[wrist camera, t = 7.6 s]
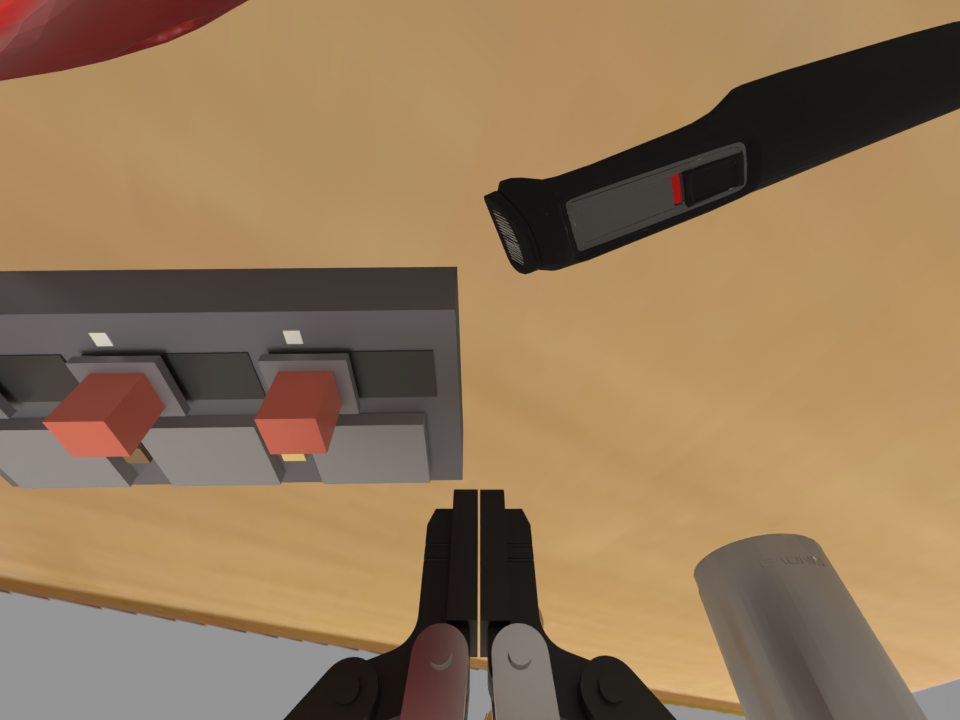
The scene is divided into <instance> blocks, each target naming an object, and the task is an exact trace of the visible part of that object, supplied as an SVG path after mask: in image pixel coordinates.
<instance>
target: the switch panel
mask: <svg viewBox="0 0 960 720" xmlns="http://www.w3.org/2000/svg"><path fill="white" fill-rule="evenodd" d="M333 353H348V354H349V358H350V362H351V367H352V371H353V375H354V379H355V383H356V388H357V392H358V396H359V400H360V404H361V409H360V413H359V414H339V416H338V419H337V423H336V426H335V429H334V433H333V436H332V439H331V442H330V446H329V449H328V452H327V454H270V453H269V450H268V448H267V446H266V444H265V442H264V440H263V437H262V435H261V433H260V431H259V429H258V426H257V424H256V422H255V420H254V419H255V417H256V415H257V413H258V411H259V409H260V407H261V405H262V403H263V401H264V399H265V397H266V395H267V393H268V391H269V389H268V386H267V384H266V381H265V379H264V376H263V374H262V371H261V369H260V366H259V364H258V359H259V358H260V356H261V354H333ZM75 356H161V358H162V360H163V361H164V363H165V365H166V367H167V368H168V370H169V372H170V374H171V375H172V377H173V379H174V381H175V382H176V384H177V386H178V387H179V389H180V391H181V393H182V394H183V396H184V398H185V400H186V401H187V403H188V405H189V407H190V408H191V410H190V411H189V413H188V414H187V416H164V417H158V419H157V420H156V422H155V423H154V424H153V426H152V427H151V429H150V430H149V431H148V433H147V434H146V436H145V437H144V438H143V440H142V441H141V443H140V444H139V445H138V447H137V448H136V449H135V451H134V452H133V454H132V455H131V456H122V457H73V456H72V455H71V454H70V453H69V452H68V451H67V450H66V449H65V447H64V446H63V445H62V444H61V443H60V442H59V441H58V440H57V438H56V437H55V436H54V435H53V434H52V433H51V432H50V431H49V429H48V428H47V427H46V426H45V425H44V424H43V423H42V422H43V421H44V420H45V419H46V418H47V416H48V415H49V414H50V413H51V412H52V411H53V410H54V409H55V408H56V407H57V406H58V405H59V404H60V403H61V402H62V401H63V400H64V399H65V398H66V397H67V396H68V395H69V394H70V393H71V392H72V391H73V390H74V389H75V388H76V387H77V386H78V385H79V384H80V383H79V382H78V380H77V379H76V378H75V376H74V375H73V374H72V372H71V371H70V370H69V368H68V367H67V366H66V364H65V363H66V362H67V361H68V360H69V359H70V358H71V357H75ZM0 393H1V394H2V396H3V397H4V398H5V399H6V400H7V401H8V402H9V403H10V404H11V405H12V406H13V407H14V409H15V410H16V411H17V412H16V413H15V414H14V415H13V416H11V417H10V418H9V419H0V476H2V477H3V478H4V479H5V480H6V481H7V482H8V483H9V484H10V485H11V486H13V487H21V488H22V489H35V488H102V487H131V485H156V484H172V485H173V486H238V485H281V483H292V482H323V484H373V483H430V480H463V407H462V381H461V354H460V328H459V301H458V274H457V267H367V268H263V269H159V270H55V271H0Z"/></svg>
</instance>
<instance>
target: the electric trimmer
mask: <svg viewBox="0 0 960 720" xmlns="http://www.w3.org/2000/svg"><path fill="white" fill-rule="evenodd" d="M958 109H960V21H956V22H952V23H948V24H944V25H940V26H936V27H933V28H929V29H925V30H921V31H918V32H914V33H910V34H907V35H903V36H900V37H896V38H893V39H890V40H886V41H883V42H879V43H876V44H873V45H869V46H866V47H862V48H859V49H856V50H852V51H849V52H845V53H842V54H839V55H835V56H832V57H828V58H825V59H822V60H818V61H815V62H811V63H808V64H805V65H801V66H798V67H794V68H791V69H788V70H784V71H781V72H778V73H775V74H772V75H769V76H766V77H763V78H760V79H757V80H754V81H751V82H748V83H745V84H742V85H740V86H738V87H736V88H734V89H732V90H731V91H730V92H729V93H728V94H727V95H726V96H725V97H724V98H723V99H722V100H721V101H720V102H719V103H718V105H717V106H716V107H714V108H713V109H712V110H711V111H710V112H709V113H707V114H706V115H704V116H702V117H701V118H699V119H698V120H696V121H694V122H693V123H691V124H688V125H686V126H684V127H682V128H679V129H677V130H675V131H672V132H670V133H667V134H665V135H662V136H660V137H657V138H655V139H652V140H650V141H647V142H645V143H642V144H640V145H637V146H635V147H632V148H630V149H627V150H625V151H622V152H620V153H618V154H615V155H613V156H610V157H608V158H605V159H603V160H600V161H598V162H595V163H593V164H590V165H587V166H584V167H581V168H578V169H576V170H573V171H570V172H567V173H564V174H561V175H558V176H555V177H551V178H546V179H533V178H522V177H520V178H509V179H505V180H502V181H500V182H499V186H498V190H497V191H494V192H492V193H489V194H487V195H485V196H484V201H485V203H486V206H487V208H488V211H489V213H490V215H491V218H492V220H493V223H494V225H495V228H496V230H497V233H498V235H499V238H500V240H501V243H502V245H503V248H504V250H505V253H506V255H507V258H508V260H509V262H510V264H511V265H512V266H513V268H514V269H515V270H516V271H518V272H519V273H522V274H529V273H532V272H534V271H537V270H546V271H556V270H560V269H563V268H566V267H569V266H572V265H575V264H578V263H581V262H585V261H588V260H591V259H593V258H596V257H598V256H601V255H603V254H606V253H608V252H611V251H613V250H616V249H618V248H621V247H623V246H626V245H628V244H631V243H633V242H636V241H638V240H641V239H643V238H646V237H648V236H651V235H653V234H656V233H658V232H661V231H663V230H666V229H668V228H671V227H673V226H676V225H678V224H681V223H683V222H686V221H688V220H691V219H693V218H696V217H698V216H701V215H703V214H706V213H708V212H710V211H713V210H715V209H717V208H719V207H722V206H724V205H726V204H728V203H731V202H733V201H735V200H737V199H740V198H742V197H744V196H746V195H748V194H750V193H752V192H755V191H757V190H760V189H763V188H765V187H768V186H770V185H772V184H775V183H777V182H780V181H782V180H785V179H787V178H790V177H792V176H794V175H797V174H799V173H802V172H804V171H807V170H809V169H812V168H814V167H816V166H819V165H821V164H824V163H826V162H829V161H831V160H834V159H836V158H838V157H841V156H843V155H846V154H848V153H851V152H853V151H856V150H858V149H861V148H863V147H866V146H868V145H871V144H873V143H876V142H878V141H881V140H883V139H886V138H888V137H890V136H893V135H895V134H898V133H900V132H903V131H905V130H908V129H910V128H913V127H915V126H918V125H920V124H923V123H925V122H928V121H930V120H933V119H935V118H938V117H940V116H943V115H945V114H948V113H950V112H953V111H955V110H958ZM743 144H744V145H743Z"/></svg>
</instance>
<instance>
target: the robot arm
mask: <svg viewBox="0 0 960 720" xmlns="http://www.w3.org/2000/svg"><path fill="white" fill-rule="evenodd" d="M694 578H695V581H696V584H697V586H698V589H699V591H698V592H699V595H700V597H701V600H702V603H703V605H704V608H705V611H706V613H707V616H708V619H709V621H710V624H711V627H712V629H713V632H714V635H715V637H716V640H717V643H718V646H719V648H720V651H721V654H722V656H723V659H724V662H725V664H726V667H727V670H728V672H729V675H730V678H731V680H732V683H733V686H734V688H735V691H736V694H737V696H738V699H739V702H740V704H741V707H742V710H743V712H744V715H745V718H746V720H928V719H927V717H926V715H925V714H924V712H923V711H922V709H921V707H920V706H919V704H918V703H917V701H916V699H915V698H914V696H913V695H912V693H911V691H910V690H909V688H908V687H907V685H906V683H905V682H904V680H903V678H902V677H901V675H900V674H899V672H898V670H897V669H896V667H895V666H894V664H893V662H892V661H891V659H890V658H889V656H888V654H887V653H886V651H885V649H884V648H883V646H882V645H881V643H880V641H879V640H878V638H877V637H876V635H875V633H874V632H873V630H872V629H871V627H870V625H869V624H868V622H867V621H866V619H865V617H864V616H863V614H862V612H861V611H860V609H859V608H858V606H857V604H856V603H855V601H854V599H853V598H852V596H851V595H850V593H849V591H848V590H847V588H846V587H845V585H844V583H843V582H842V580H841V579H840V577H839V575H838V574H837V572H836V571H835V569H834V567H833V566H832V564H831V562H830V561H829V559H828V558H827V556H826V554H825V553H824V551H823V550H822V548H821V546H820V545H819V544H818V543H817V542H816V541H815V540H813V539H811V538H809V537H806V536H802V535H797V534H785V533H778V534H765V535H760V536H754V537H749V538H745V539H742V540H738V541H735V542H732V543H730V544H727V545H724V546H722V547H720V548H718V549H716V550H714V551H713V552H711V553H710V554H708V555H707V556H705V557H704V558H703V559H702V560H701V561H700V562H699V563H698V564H697V566H696V567H695V569H694ZM470 657H478V489H454V494H453V509H435V511H434V513H433V515H432V517H431V519H430V520H429V522H428V524H427V532H426V542H425V552H424V562H423V572H422V582H421V592H420V602H419V612H418V619H417V623H416V626H415V628H414V630H413V632H412V633H411V635H410V636H409V638H408V639H407V640H406V641H405V642H404V643H403V644H402V645H400V646H399V647H397V648H396V649H394V650H391V651H389V652H387V653H384V654H381V655H379V656H376V657H374V658H371V659H368V660H365V659H363V658H360V657H348V658H345V659H342V660H340V661H338V662H337V663H335V664H334V665H333V666H332V667H331V668H330V669H329V670H328V671H327V672H326V673H325V674H324V675H323V676H322V677H321V678H320V679H319V681H318V682H317V683H316V684H315V685H314V686H313V687H312V688H311V689H310V691H309V692H308V693H307V694H306V695H305V696H304V697H303V698H302V699H301V700H300V702H299V703H298V704H297V705H296V706H295V707H294V708H293V709H292V710H291V712H290V713H289V714H288V715H287V716H286V717H285V718H284V719H283V720H468V712H469V699H470ZM480 657H487V665H488V691H489V695H490V699H491V712H492V720H677V719H676V718H675V717H674V716H673V715H672V714H671V713H670V712H669V710H668V709H667V708H666V707H665V706H664V705H663V704H662V703H661V702H660V701H659V699H658V698H657V697H656V696H655V695H654V694H653V693H652V692H651V691H650V689H649V688H648V687H647V686H646V685H645V684H644V683H643V682H642V681H641V679H640V678H639V677H638V676H637V675H636V674H635V673H634V672H633V671H632V669H631V668H630V667H629V666H628V665H627V664H625V663H624V662H623V661H621V660H619V659H618V658H615V657H612V656H607V655H603V656H598V657H595V658H593V659H591V660H588V659H586V658H583V657H581V656H578V655H575V654H573V653H570V652H568V651H565V650H563V649H561V648H560V647H558V646H557V645H555V644H554V643H553V642H552V641H551V640H550V639H549V637H548V636H547V635H546V633H545V632H544V629H543V627H542V625H541V622H540V617H539V607H538V597H537V586H536V576H535V565H534V555H533V547H532V534H531V525H530V523H529V521H528V519H527V517H526V515H525V513H524V512H523V510H522V509H505V496H504V489H480Z"/></svg>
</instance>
